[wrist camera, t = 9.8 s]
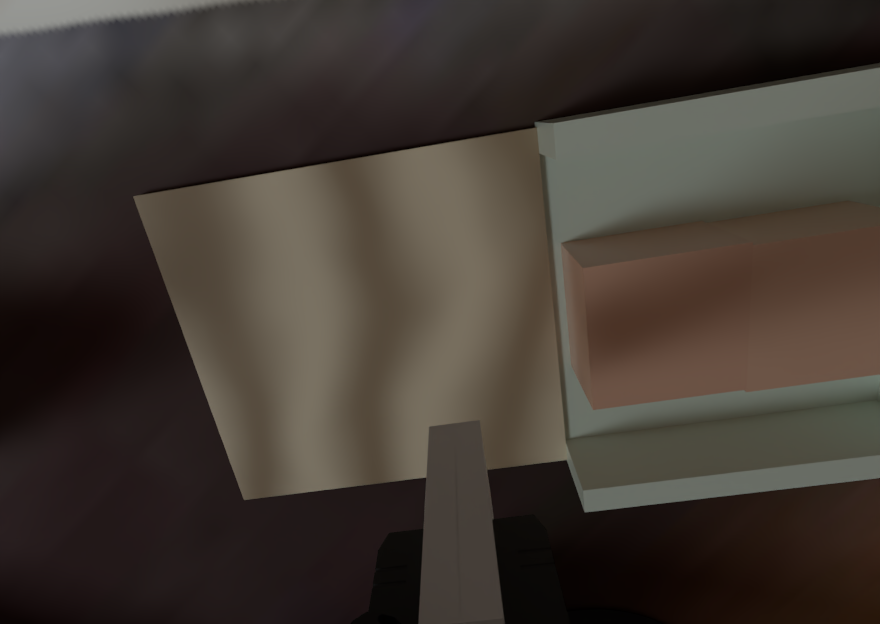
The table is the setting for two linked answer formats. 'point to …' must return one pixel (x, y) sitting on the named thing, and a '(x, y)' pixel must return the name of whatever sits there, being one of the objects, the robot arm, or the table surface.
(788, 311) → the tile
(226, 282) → the board
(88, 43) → the table surface
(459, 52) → the table surface
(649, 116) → the tray
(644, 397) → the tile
